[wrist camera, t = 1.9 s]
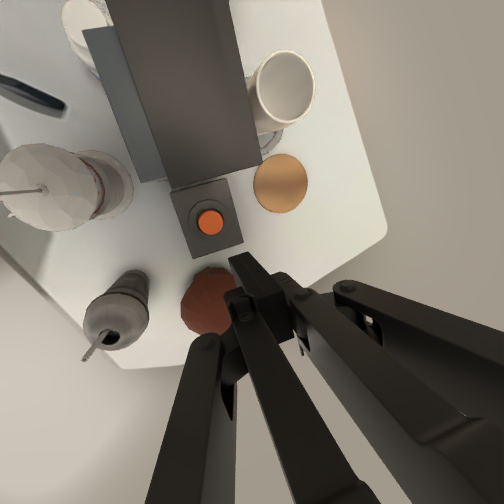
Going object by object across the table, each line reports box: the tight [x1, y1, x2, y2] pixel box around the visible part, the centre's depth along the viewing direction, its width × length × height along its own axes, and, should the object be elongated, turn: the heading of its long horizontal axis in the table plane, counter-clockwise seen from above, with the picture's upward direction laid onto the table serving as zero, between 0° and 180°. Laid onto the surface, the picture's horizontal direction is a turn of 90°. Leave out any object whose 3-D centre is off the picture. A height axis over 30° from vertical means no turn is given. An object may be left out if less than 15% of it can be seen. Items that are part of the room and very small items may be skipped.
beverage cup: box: [81, 270, 149, 362], centre depth 32 cm, size 7×7×20 cm
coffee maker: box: [82, 0, 283, 188], centre depth 28 cm, size 13×22×22 cm, turn 104°
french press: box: [0, 143, 133, 232], centre depth 24 cm, size 10×12×25 cm
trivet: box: [254, 154, 308, 213], centre depth 43 cm, size 10×10×1 cm
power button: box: [198, 210, 223, 235], centre depth 37 cm, size 4×4×2 cm
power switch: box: [170, 178, 244, 259], centre depth 39 cm, size 11×9×4 cm
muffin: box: [181, 267, 237, 335], centre depth 41 cm, size 12×11×10 cm
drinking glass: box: [247, 50, 315, 137], centre depth 32 cm, size 7×7×15 cm
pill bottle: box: [61, 0, 114, 81], centre depth 28 cm, size 6×5×10 cm
